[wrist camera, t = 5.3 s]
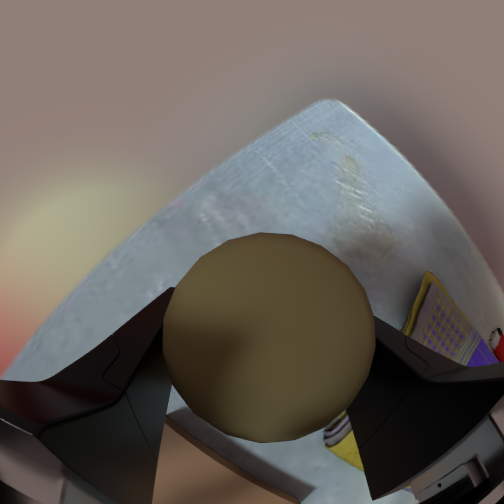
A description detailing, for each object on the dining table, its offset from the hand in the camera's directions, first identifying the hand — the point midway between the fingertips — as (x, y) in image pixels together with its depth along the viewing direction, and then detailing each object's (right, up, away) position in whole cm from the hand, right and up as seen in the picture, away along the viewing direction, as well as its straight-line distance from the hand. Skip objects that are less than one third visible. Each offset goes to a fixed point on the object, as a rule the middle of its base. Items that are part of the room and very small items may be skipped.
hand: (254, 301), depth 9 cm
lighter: (+30, -11, +11) cm, 34 cm away
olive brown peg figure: (-1, -4, +6) cm, 7 cm away
